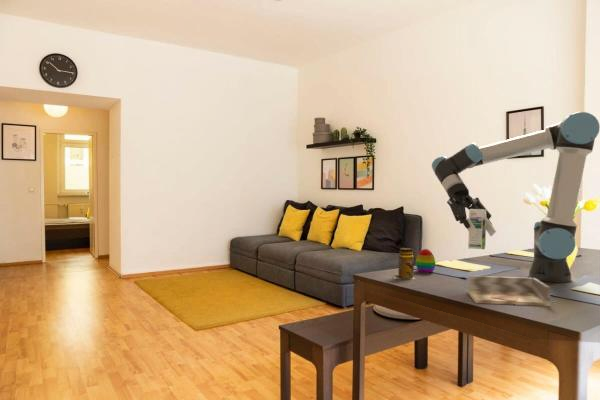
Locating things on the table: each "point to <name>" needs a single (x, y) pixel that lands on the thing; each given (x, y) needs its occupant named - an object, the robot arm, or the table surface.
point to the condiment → (405, 264)
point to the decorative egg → (425, 261)
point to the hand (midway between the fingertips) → (484, 234)
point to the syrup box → (478, 228)
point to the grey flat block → (508, 290)
